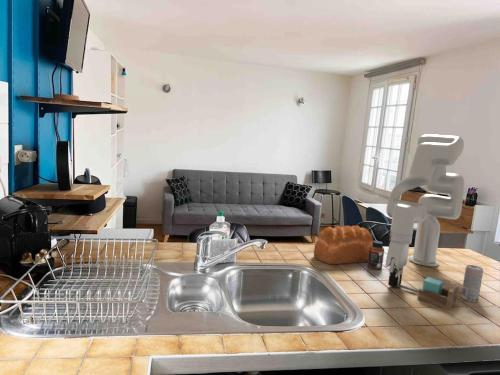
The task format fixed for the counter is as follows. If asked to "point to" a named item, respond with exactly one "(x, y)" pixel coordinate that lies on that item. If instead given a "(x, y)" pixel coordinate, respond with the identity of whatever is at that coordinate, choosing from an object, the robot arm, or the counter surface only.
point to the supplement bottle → (376, 255)
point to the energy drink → (472, 283)
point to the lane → (440, 297)
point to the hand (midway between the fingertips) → (394, 284)
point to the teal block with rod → (425, 285)
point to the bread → (343, 245)
